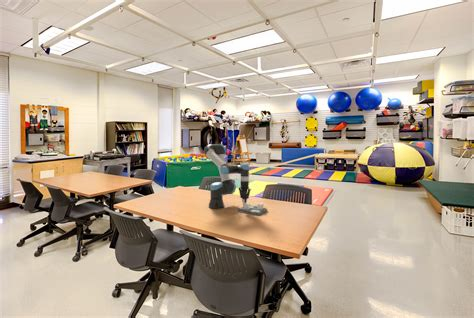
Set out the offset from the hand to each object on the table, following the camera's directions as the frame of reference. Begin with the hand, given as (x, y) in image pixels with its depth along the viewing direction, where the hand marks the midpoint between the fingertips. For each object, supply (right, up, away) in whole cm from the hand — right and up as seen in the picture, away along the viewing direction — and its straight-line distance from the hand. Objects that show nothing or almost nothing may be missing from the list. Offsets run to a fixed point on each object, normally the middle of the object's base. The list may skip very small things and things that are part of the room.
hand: (244, 205), depth 226 cm
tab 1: (+2, -3, -1) cm, 4 cm away
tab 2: (+14, -3, -1) cm, 15 cm away
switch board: (+8, -5, 0) cm, 9 cm away
